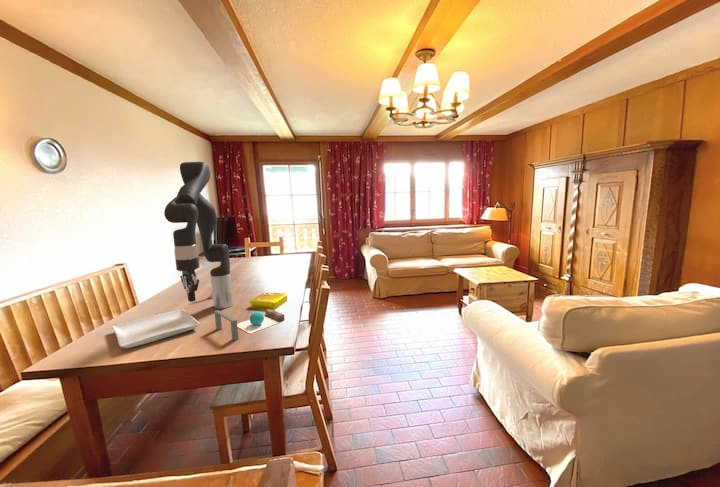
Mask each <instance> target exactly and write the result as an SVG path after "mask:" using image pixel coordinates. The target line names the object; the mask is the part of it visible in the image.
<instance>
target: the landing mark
mask: <svg viewBox="0 0 720 487" xmlns="http://www.w3.org/2000/svg"><path fill="white" fill-rule="evenodd" d="M279 323H280V321H278V320H276V319H272V318H271V317H269V316H268V317H267V315H264V320H263V322H262V323H261V324H260V325H253V324H251V322H250V319H247V320H244V321H240V322H239V323H238V322H237V328H238V329H240V330H241V331H244V332H245V333H247V334H249V335H251V334H255V333H257V332H259V331H262V330H265V329H267V328H270V327H272V326H274V325H278V324H279Z"/></svg>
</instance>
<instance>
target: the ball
mask: <svg viewBox="0 0 720 487" xmlns="http://www.w3.org/2000/svg"><path fill="white" fill-rule="evenodd" d="M264 316H265V315H264V314H263V312H261V311H254V312H252V313H251V314H250V316H249V320H250V322H251V324H253V325H260V324H261V323H262V322H263V320H264Z"/></svg>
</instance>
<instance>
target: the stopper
mask: <svg viewBox="0 0 720 487" xmlns="http://www.w3.org/2000/svg"><path fill="white" fill-rule="evenodd" d="M264 312H265V316H268V317H269V318H271V319H272V318H273V320H276V321H278V322H283V321H285V314H284V313H281V312H279V311H276V310H275V309H274V310H271V309H264Z"/></svg>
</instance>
